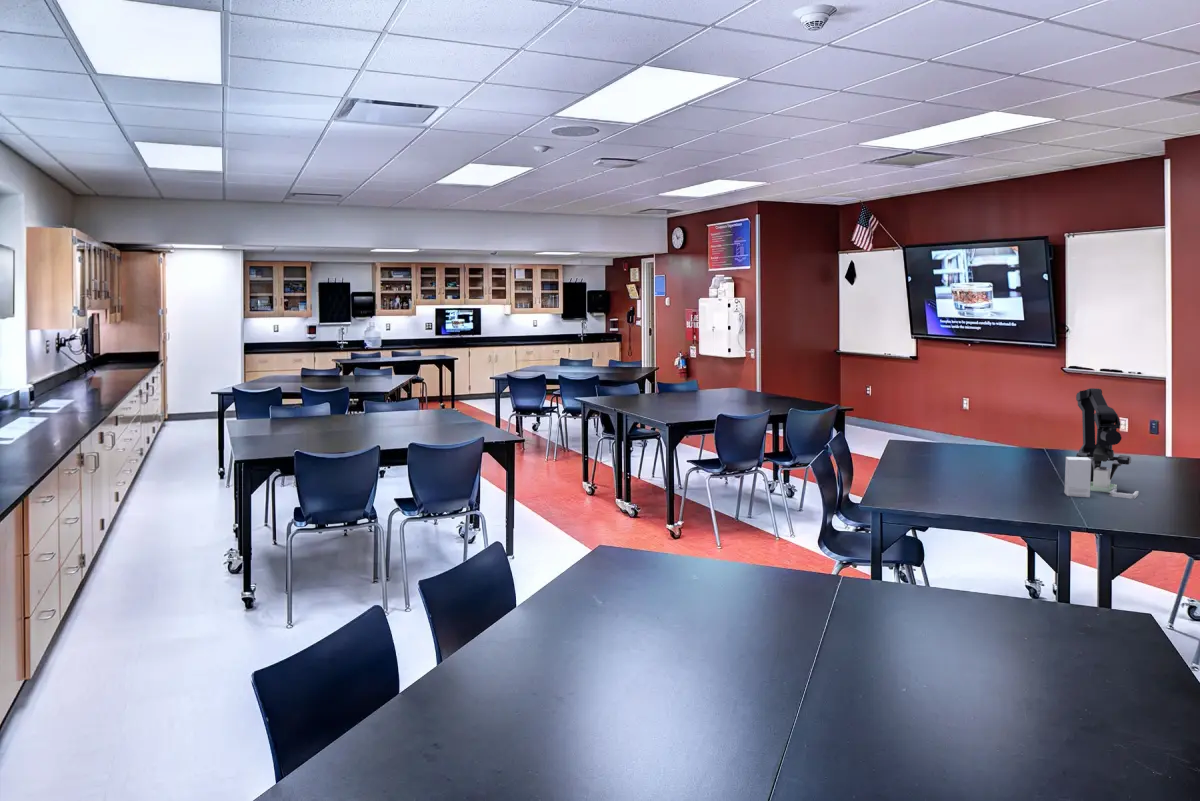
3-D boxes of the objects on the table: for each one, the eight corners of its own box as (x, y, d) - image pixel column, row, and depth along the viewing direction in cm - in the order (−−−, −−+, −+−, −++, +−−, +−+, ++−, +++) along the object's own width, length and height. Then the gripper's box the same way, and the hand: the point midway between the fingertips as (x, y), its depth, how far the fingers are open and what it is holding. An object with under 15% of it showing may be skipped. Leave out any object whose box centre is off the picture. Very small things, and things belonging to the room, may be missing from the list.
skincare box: (1086, 495, 336) (1089, 457, 334) (1090, 499, 330) (1092, 459, 328) (1063, 494, 338) (1065, 455, 337) (1066, 497, 332) (1068, 458, 331)
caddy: (1092, 489, 343) (1093, 468, 342) (1096, 486, 349) (1097, 465, 348) (1106, 490, 340) (1108, 469, 339) (1109, 488, 345) (1111, 467, 345)
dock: (1109, 497, 332) (1109, 492, 332) (1113, 493, 339) (1113, 488, 339) (1134, 500, 327) (1134, 495, 326) (1138, 496, 334) (1138, 491, 334)
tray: (1085, 491, 343) (1086, 486, 343) (1091, 486, 352) (1091, 481, 351) (1111, 494, 337) (1112, 489, 337) (1116, 489, 346) (1117, 484, 346)
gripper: (1074, 441, 342) (1072, 478, 344) (1127, 445, 330) (1125, 484, 332) (1080, 437, 351) (1077, 474, 352) (1132, 442, 339) (1129, 480, 340)
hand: (1102, 478), depth 344 cm, fingers open, 6 cm apart
